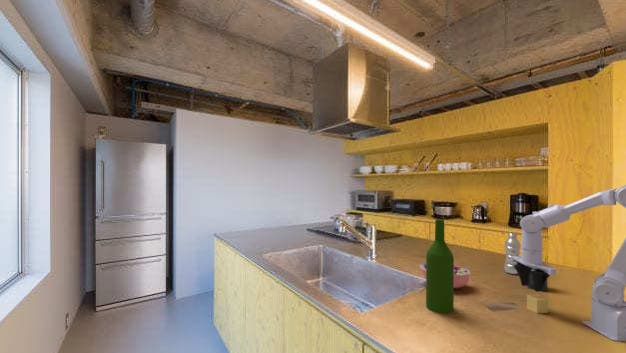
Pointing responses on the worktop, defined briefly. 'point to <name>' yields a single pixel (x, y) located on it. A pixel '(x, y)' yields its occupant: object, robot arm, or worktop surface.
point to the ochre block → (537, 303)
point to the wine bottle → (439, 274)
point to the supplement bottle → (531, 282)
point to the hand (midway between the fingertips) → (531, 288)
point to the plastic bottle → (511, 252)
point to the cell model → (459, 275)
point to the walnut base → (500, 306)
